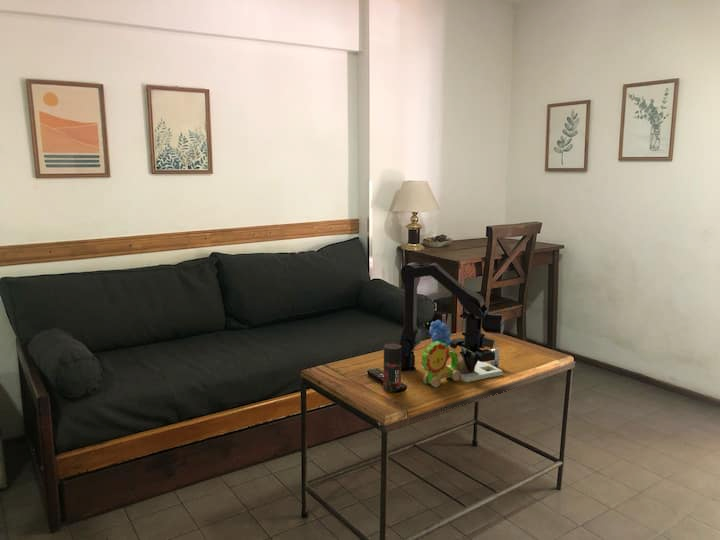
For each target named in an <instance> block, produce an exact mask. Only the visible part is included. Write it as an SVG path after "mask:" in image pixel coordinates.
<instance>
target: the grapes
mask: <svg viewBox="0 0 720 540" xmlns="http://www.w3.org/2000/svg"><path fill="white" fill-rule="evenodd" d="M428 332H429V334H430V335H431V338H430V340H431V341H432V342H431V343H434V342H435V341H438V342H441V343H443V344H446V345H447V347H448V348H449V347H450V342H451V340H452V339H450V338H451V337H452V333H451V332H450V330H448V325H447V324H446V323H444V322H442V321H441V320H440V319H437V320H435V321H431V323H430V328H429V330H428Z"/></svg>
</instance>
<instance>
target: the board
mask: <svg viewBox="0 0 720 540" xmlns="http://www.w3.org/2000/svg"><path fill="white" fill-rule="evenodd" d="M490 364H491V363H489V362H487V361H486V362H480V361H478V362H477V364H476V366H475V371H473V373H469V372H466V373H461V377H460V379H459V380H462V381H464V382H466V383H467V382H468V383H469V382H474V381H478V380H484V379H488V378H493V377H494V378H495V377H499V376H503V373H504V371H503V370H502V369H500V368H496V367H494V366H492V365H490ZM446 366H447V367H451V364H449V365H447V364H446Z"/></svg>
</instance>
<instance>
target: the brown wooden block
mask: <svg viewBox="0 0 720 540" xmlns="http://www.w3.org/2000/svg"><path fill="white" fill-rule="evenodd" d="M450 362H451V363H452V359H451V361H450ZM451 363H450V364H451ZM458 371H460V373H466V372H469V371H468V369H467V366H466V364H465V362H464V360H463V358H462V356H461V357H458ZM474 371H475V368H474Z"/></svg>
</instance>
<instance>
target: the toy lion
mask: <svg viewBox="0 0 720 540" xmlns="http://www.w3.org/2000/svg"><path fill="white" fill-rule="evenodd" d="M458 358H459V357H458V355H457V354H456V352H454V351H452V350H450V348H449V346H448V347H447V345H446V344H443V343H441V342H438V341H435V342H434V343H433V342H431V343H430V344H429V345H428V346H427V347H426V348H425V349H424V351H423V353H422V355H421V359H422V360H421V365H422V366H423V369H424V371H425V372H427V373H426V374H424V376H423V380H422V381H423V382H424V383H425V384H426V385H429V384H430V385H431V386H432V387H434V388H438V387H440V385H441V380H442V379H445V378H447V379H452V380H453V381H455V382H458V381H459V380H461V379H460V377H461V373H460V371H458ZM449 359H451V360H452V363H450V365H451V367H447V366H448V365H447V362H448V361H449ZM446 365H447V366H446Z"/></svg>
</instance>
